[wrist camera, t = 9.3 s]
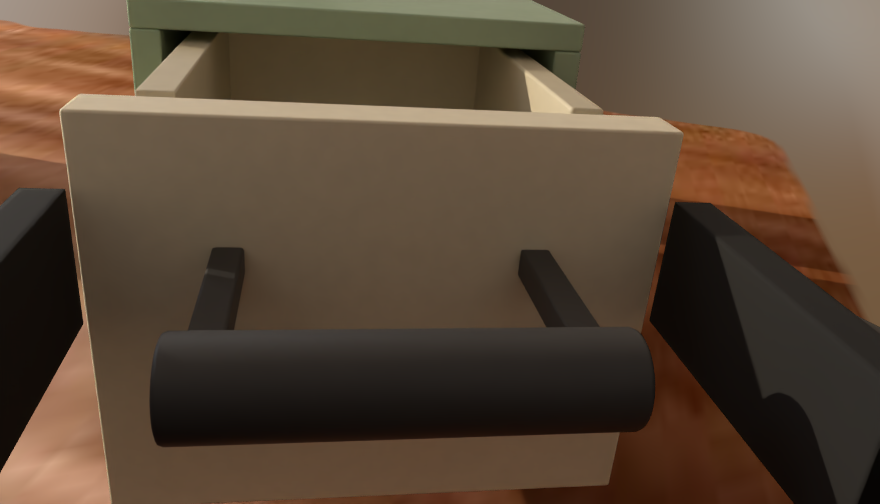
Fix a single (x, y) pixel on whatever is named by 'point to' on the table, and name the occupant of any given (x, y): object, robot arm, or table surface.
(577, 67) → the cabinet
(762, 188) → the table surface
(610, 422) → the drawer
